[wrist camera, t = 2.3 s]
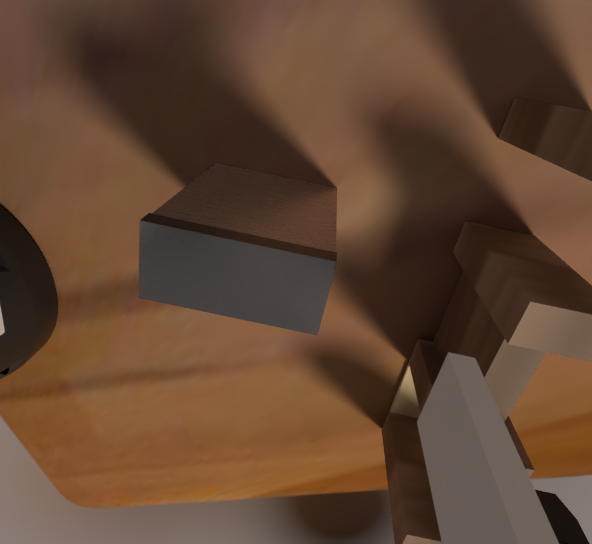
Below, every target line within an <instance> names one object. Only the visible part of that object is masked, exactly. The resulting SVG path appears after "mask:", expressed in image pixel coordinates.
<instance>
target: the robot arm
mask: <svg viewBox="0 0 592 544" xmlns="http://www.w3.org/2000/svg"><path fill="white" fill-rule="evenodd" d="M57 314H58V299H57V292H56V288H55V284H54V280H53V277H52V274H51V272H50V269H49V267H48V265H47V263H46V261H45V259H44V257H43V255H42V254H41V252H40V250H39V249H38V247H37V246H36V244H35V243H34V241H33V240H32V239H31V237H30V236H29V235H28V234H27V232H26V231H25V230H24V229H23V228H22V226H21V225H20V224H19V223H18V222H17V221H16V220H15V219H14V218H13V217H12V216H11V215H10V214H9V213H8V212H6V211H5V210H4V209H3V208H2V207H1V206H0V379H1V378H3V377H5V376H7V375H9V374H11V373H12V372H14V371H16V370H17V369H18V368H20V367H21V366H22V365H24V364H25V363H26V362H27V361H28V360H29V359H30V358H31V357H32V356H33V355H34V354H35V353H36V352H38V351H39V350H40V349H41V348H42V347H43V346H44V345H45V343H46V342H47V341H48V340H49V338H50V336H51V335H52V332H53V330H54V328H55V325H56V320H57ZM417 425H418V430H419V434H420V439H421V444H422V449H423V454H424V459H425V464H426V468H427V473H428V478H429V483H430V488H431V493H432V498H433V502H434V507H435V512H436V517H437V522H438V527H439V532H440V536H441V541H442V544H589V542H588V541H587V538H586V536H585V534H584V532H583V531H582V528H581V527H580V525H579V523H578V521H577V519H576V518H575V517H574V516H573V515H572V513H571V512H570V511H569V510H568V509H567V507H566V506H565V505H564V504H563V503H562V501H561V500H560V499H559V498H558V497H557V496H556V494H552V493H548V492H543V491H539V490H535V489H534V487H533V485H532V483H531V480H530V478H529V476H528V474H527V472H526V469H525V467H524V465H523V463H522V460H521V458H520V456H519V454H518V452H517V449H516V447H515V445H514V443H513V441H512V438H511V436H510V434H509V432H508V429H507V427H506V425H505V423H504V421H503V418H502V416H501V414H500V412H499V410H498V407H497V405H496V403H495V401H494V398H493V396H492V394H491V392H490V390H489V387H488V385H487V383H486V381H485V379H484V376H483V374H482V372H481V370H480V367H479V365H478V363H477V361H476V359H475V358H473V357H468V356H464V355H459V354H454V353H450V352H448V354H447V356H446V358H445V361H444V363H443V365H442V367H441V370H440V372H439V374H438V376H437V378H436V381H435V383H434V385H433V387H432V390H431V392H430V394H429V396H428V398H427V401H426V403H425V405H424V407H423V410H422V412H421V414H420V416H419V418H418V421H417Z"/></svg>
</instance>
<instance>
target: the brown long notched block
mask: <svg viewBox="0 0 592 544" xmlns="http://www.w3.org/2000/svg"><path fill="white" fill-rule="evenodd" d="M498 138H499V139H501V140H503V141H505V142H507V143H510V144H512V145H514V146H516V147H518V148H520V149H523V150H525V151H527V152H529V153H531V154H534V155H536V156H538V157H540V158H542V159H544V160H547V161H549V162H551V163H553V164H555V165H557V166H560V167H562V168H564V169H566V170H568V171H571V172H573V173H575V174H577V175H579V176H581V177H584V178H586V179H588V180H590V181H592V111H589V110H584V109H578V108H573V107H567V106H561V105H556V104H550V103H545V102H539V101H534V100H528V99H523V98H517V97H514V100H513V102H512V105H511V107H510V110H509V112H508V115H507V117H506V120H505V122H504V125H503V127H502V130H501V132H500V135H499V137H498ZM453 254H454V256H455V257H456V259H457V260H458V262H459V264H460V265H461V267H462V269H463V271H462V274H461V276H460V278H459V281H458V283H457V286H456V288H455V290H454V293H453V295H452V297H451V300H450V302H449V304H448V307H447V309H446V312H445V314H444V316H443V319H442V321H441V323H440V326H439V328H438V331H437V333H436V335H435V338H434V340H433V342H431V341H427V340H422V339H418V340H417V342H416V345H415V347H414V350H413V352H412V355H411V357H410V360H409V363H408V365H407V367H406V370H405V372H404V375H403V377H402V380H401V382H400V385H399V387H398V390H397V392H396V395H395V397H394V400H393V402H392V405H391V407H390V410H389V412H388V415H387V417H386V420H385V422H384V425H383V427H382V436H383V445H384V453H385V462H386V471H387V479H388V488H389V495H390V496H389V497H390V505H391V514H392V522H393V531H394V539H395V544H442V541H441V536H440V532H439V527H438V522H437V517H436V512H435V507H434V502H433V498H432V493H431V488H430V483H429V478H428V473H427V468H426V464H425V459H424V454H423V449H422V444H421V439H420V434H419V430H418V425H417V421H418V418H419V416H420V414H421V412H422V410H423V407H424V405H425V403H426V401H427V398H428V396H429V394H430V392H431V390H432V387H433V385H434V383H435V381H436V378H437V376H438V374H439V372H440V370H441V367H442V365H443V363H444V361H445V358H446V356H447V354H448V352H450V353H454V354H459V355H464V356H468V357H473V358H475V359H476V361H477V363H478V365H479V367H480V370H481V372H482V374H483V376H484V379H485V381H486V383H487V385H488V387H489V390H490V392H491V394H492V396H493V398H494V401H495V403H496V405H497V407H498V410H499V412H500V414H501V416H502V418H503V421H504V423H505V425H506V427H507V429H508V432H509V434H510V436H511V438H512V441H513V443H514V445H515V447H516V449H517V452H518V454H519V456H520V458H521V460H522V463H523V465H524V467H525V469H526V472H527V474H528V476H529V478H530V476H531V475H532V473H533V472H534V468H533V466H532V464H531V462H530V460H529V458H528V456H527V454H526V452H525V449H524V447H523V445H522V443H521V441H520V439H519V437H518V435H517V433H516V431H515V429H514V427H513V425H512V422H511V420H510V418H509V416H508V415H509V414H510V412H511V410H512V409H513V407H514V405H515V404H516V402H517V400H518V398H519V397H520V395H521V393H522V392H523V390H524V388H525V387H526V385H527V383H528V381H529V380H530V378H531V376H532V375H533V373H534V371H535V370H536V368H537V366H538V364H539V363H540V361H541V359H542V358H543V356H544V354H545V353H546V352H548V353H553V354H557V355H562V356H567V357H572V358H576V359H581V360H586V361H591V362H592V286H591V285H590V284H589V283H588V282H587V281H586V280H585V279H583V278H582V277H581V276H580V275H579V274H578V273H577V272H575V271H574V270H573V269H572V268H571V267H570V266H569V265H567V264H566V263H565V262H564V261H563V260H562V259H561V258H559V257H558V256H557V255H556V254H555V253H554V252H553V251H551V250H550V249H549V248H548V247H547V246H546V245H545V244H543V243H542V242H541V241H540V240H539V239H538V238H537V237H535V236H534V235H530V234H525V233H521V232H516V231H511V230H506V229H502V228H497V227H492V226H488V225H483V224H478V223H473V222H469V221H465V222H464V225H463V227H462V230H461V232H460V235H459V237H458V240H457V242H456V245H455V247H454V250H453Z"/></svg>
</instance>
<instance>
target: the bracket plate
mask: <svg viewBox="0 0 592 544" xmlns="http://www.w3.org/2000/svg"><path fill="white" fill-rule="evenodd" d="M336 220H337V188H334V187H329V186H324V185H319V184H315V183H310V182H305V181H300V180H296V179H291V178H286V177H281V176H277V175H272V174H267V173H262V172H258V171H253V170H248V169H243V168H239V167H234V166H229V165H224V164H220V163H215V164H214V165H212V166H211V167H210V168H209V169H207V170H206V171H205V172H204V173H202V174H201V175H200V176H199V177H197V178H196V179H195V180H193V181H192V182H191V183H190V184H188V185H187V186H186V187H185V188H183V189H182V190H181V191H180V192H178V193H177V194H176V195H175V196H173V197H172V198H171V199H169V200H168V201H167V202H166V203H164V204H163V205H162V206H161V207H159V208H158V209H157V210H156V211H154V212H153V213H152V214H151V213H149V214H147V215H146V216H145V217H144V218H142V219H141V220H140V244H139V298H142V299H147V300H152V301H157V302H161V303H166V304H171V305H176V306H180V307H185V308H190V309H195V310H200V311H204V312H209V313H214V314H219V315H223V316H228V317H233V318H238V319H242V320H247V321H252V322H257V323H261V324H266V325H271V326H276V327H280V328H285V329H290V330H295V331H299V332H304V333H309V334H314V335H318V331H319V327H320V323H321V319H322V315H323V312H324V308H325V304H326V300H327V296H328V292H329V288H330V285H331V281H332V277H333V273H334V269H335V265H336V255H337V252H336Z"/></svg>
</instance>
